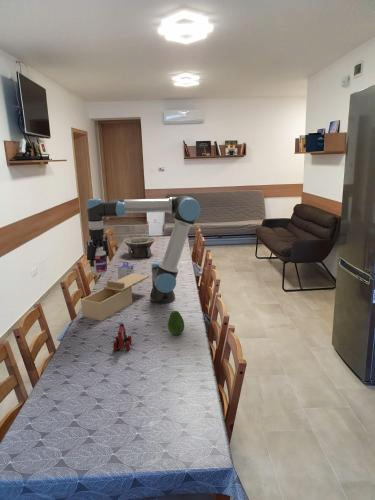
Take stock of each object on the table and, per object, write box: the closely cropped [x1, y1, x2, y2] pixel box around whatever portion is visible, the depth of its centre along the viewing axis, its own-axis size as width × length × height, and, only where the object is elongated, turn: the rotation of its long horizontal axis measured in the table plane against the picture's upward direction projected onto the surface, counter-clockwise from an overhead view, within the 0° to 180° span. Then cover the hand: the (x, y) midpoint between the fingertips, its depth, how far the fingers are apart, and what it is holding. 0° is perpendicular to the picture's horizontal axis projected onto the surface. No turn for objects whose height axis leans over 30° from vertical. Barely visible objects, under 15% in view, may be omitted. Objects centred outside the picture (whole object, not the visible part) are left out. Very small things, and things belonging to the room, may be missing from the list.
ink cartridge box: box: [117, 261, 135, 280], centre depth 250 cm, size 10×6×14 cm, turn 85°
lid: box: [103, 273, 150, 291], centre depth 221 cm, size 13×28×4 cm, turn 153°
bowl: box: [123, 236, 156, 259], centre depth 320 cm, size 27×26×15 cm
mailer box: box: [80, 286, 133, 322], centre depth 206 cm, size 13×28×10 cm, turn 153°
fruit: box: [167, 310, 185, 336], centre depth 175 cm, size 8×8×12 cm
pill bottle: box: [91, 246, 108, 276], centre depth 196 cm, size 8×8×14 cm
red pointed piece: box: [113, 322, 133, 352], centre depth 165 cm, size 7×12×10 cm, turn 2°
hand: (99, 269), depth 197 cm, fingers closed on pill bottle, 8 cm apart
